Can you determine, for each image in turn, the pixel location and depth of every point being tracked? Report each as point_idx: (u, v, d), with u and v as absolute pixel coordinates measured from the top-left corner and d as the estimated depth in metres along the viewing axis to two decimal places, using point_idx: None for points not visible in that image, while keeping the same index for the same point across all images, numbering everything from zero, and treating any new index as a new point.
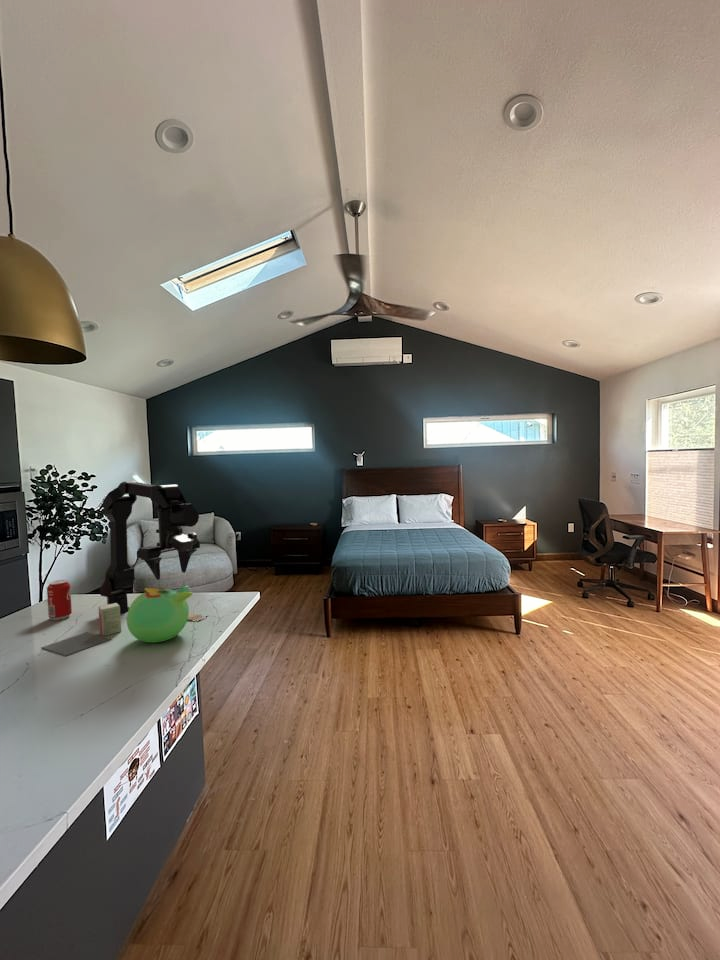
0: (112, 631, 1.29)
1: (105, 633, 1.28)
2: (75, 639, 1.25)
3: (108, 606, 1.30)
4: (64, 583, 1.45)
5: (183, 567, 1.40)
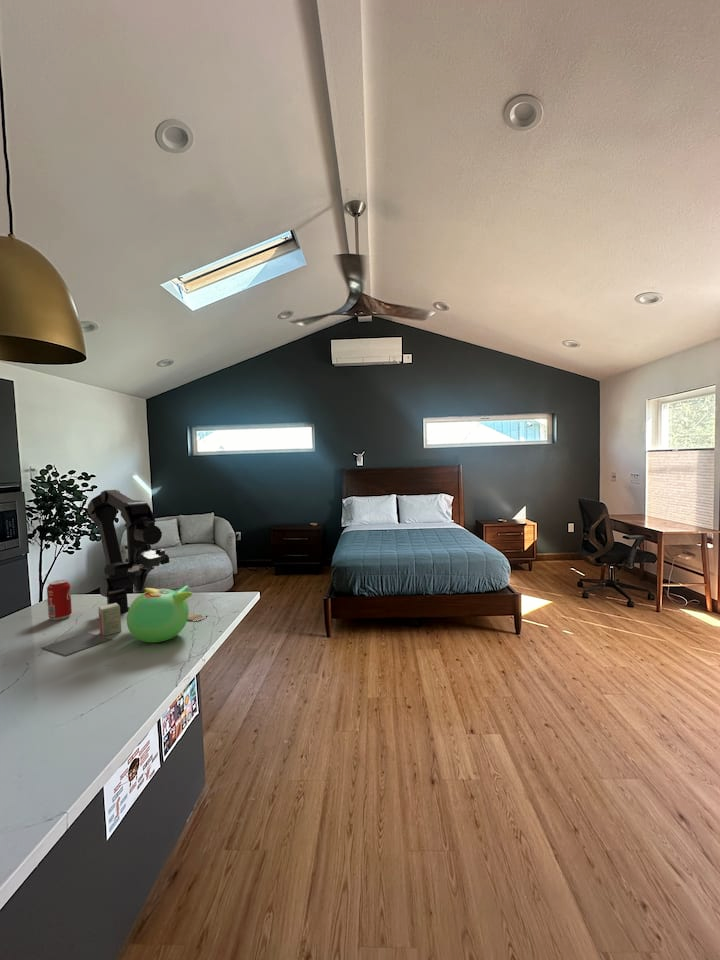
0: (112, 631, 1.29)
1: (105, 633, 1.28)
2: (75, 639, 1.25)
3: (108, 606, 1.30)
4: (64, 583, 1.45)
5: None
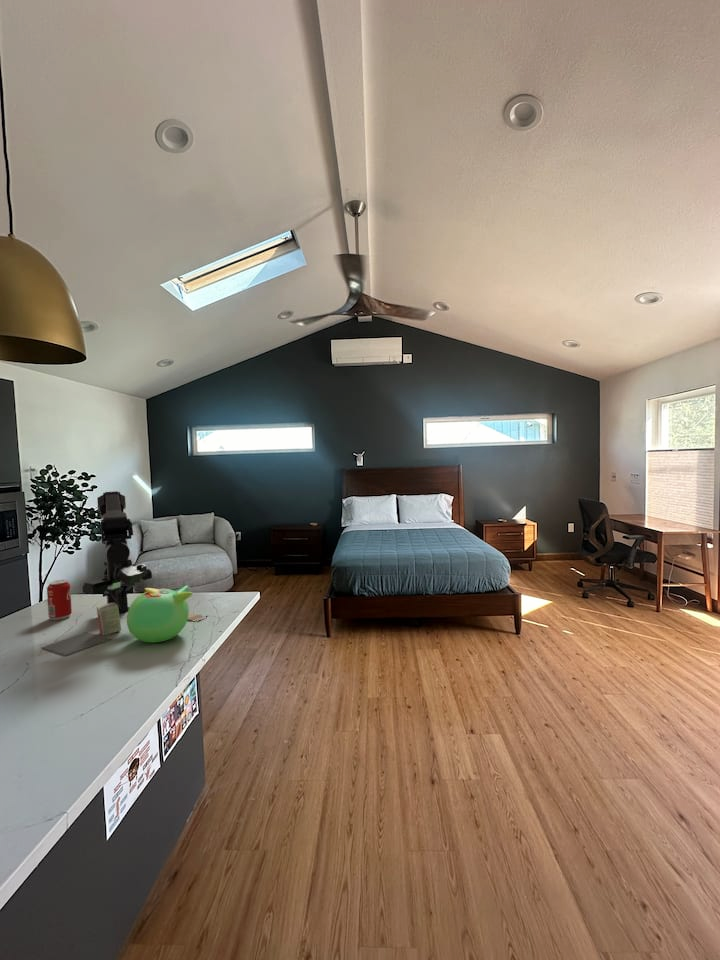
0: (111, 631, 1.29)
1: (105, 633, 1.28)
2: (75, 639, 1.25)
3: (106, 606, 1.29)
4: (64, 583, 1.45)
5: None
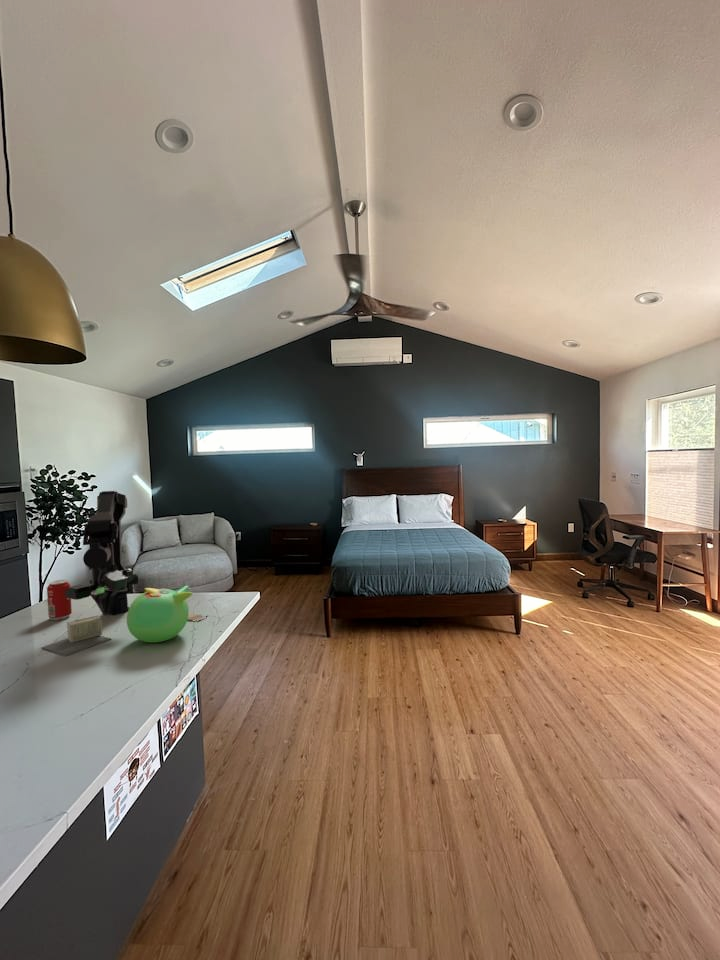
0: (99, 627, 1.27)
1: (100, 632, 1.27)
2: None
3: (68, 633, 1.23)
4: (64, 583, 1.45)
5: None
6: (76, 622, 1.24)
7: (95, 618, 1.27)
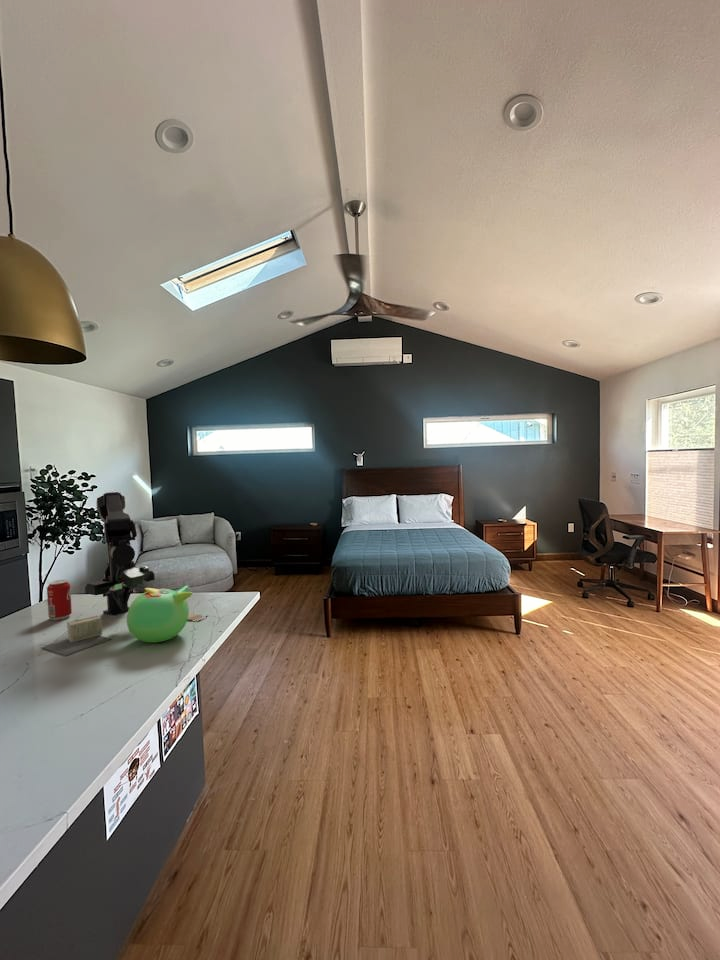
0: (99, 627, 1.27)
1: (100, 632, 1.27)
2: None
3: (68, 633, 1.23)
4: (64, 583, 1.45)
5: None
6: (76, 622, 1.24)
7: (95, 618, 1.27)
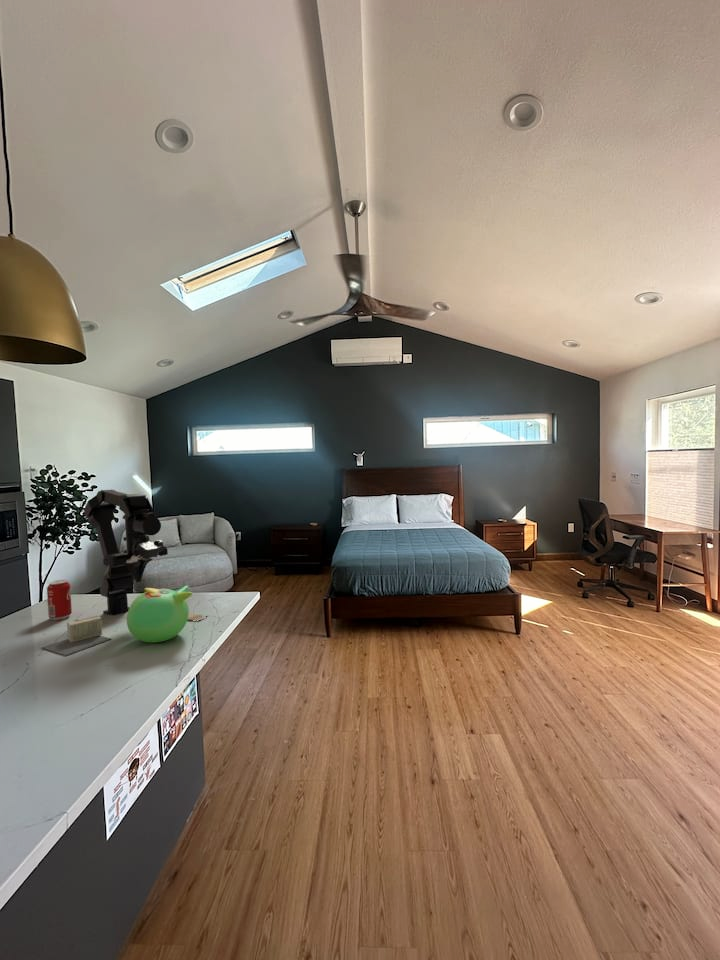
0: (99, 627, 1.27)
1: (100, 632, 1.27)
2: None
3: (68, 633, 1.23)
4: (64, 583, 1.45)
5: None
6: (76, 622, 1.24)
7: (95, 618, 1.27)
